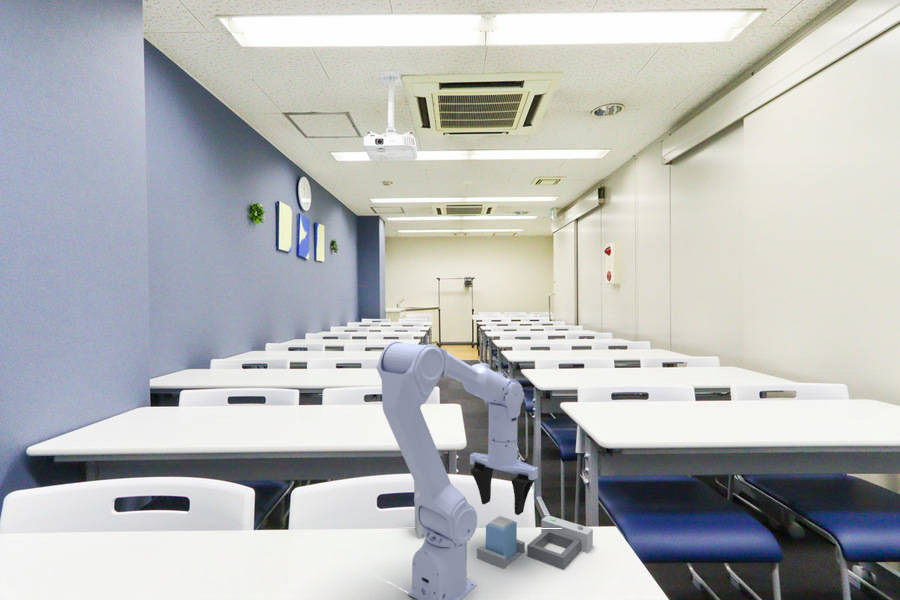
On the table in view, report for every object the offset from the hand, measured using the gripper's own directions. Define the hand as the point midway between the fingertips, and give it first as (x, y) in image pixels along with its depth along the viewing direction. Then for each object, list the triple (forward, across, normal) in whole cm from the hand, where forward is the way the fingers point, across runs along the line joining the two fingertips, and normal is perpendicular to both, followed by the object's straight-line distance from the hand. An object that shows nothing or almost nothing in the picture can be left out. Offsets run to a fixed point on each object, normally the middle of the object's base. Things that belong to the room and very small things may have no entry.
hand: (502, 507), depth 90 cm
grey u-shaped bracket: (+9, 0, 0) cm, 9 cm away
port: (+9, -8, -8) cm, 15 cm away
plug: (+9, 0, 0) cm, 9 cm away
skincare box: (+10, +18, +2) cm, 20 cm away
